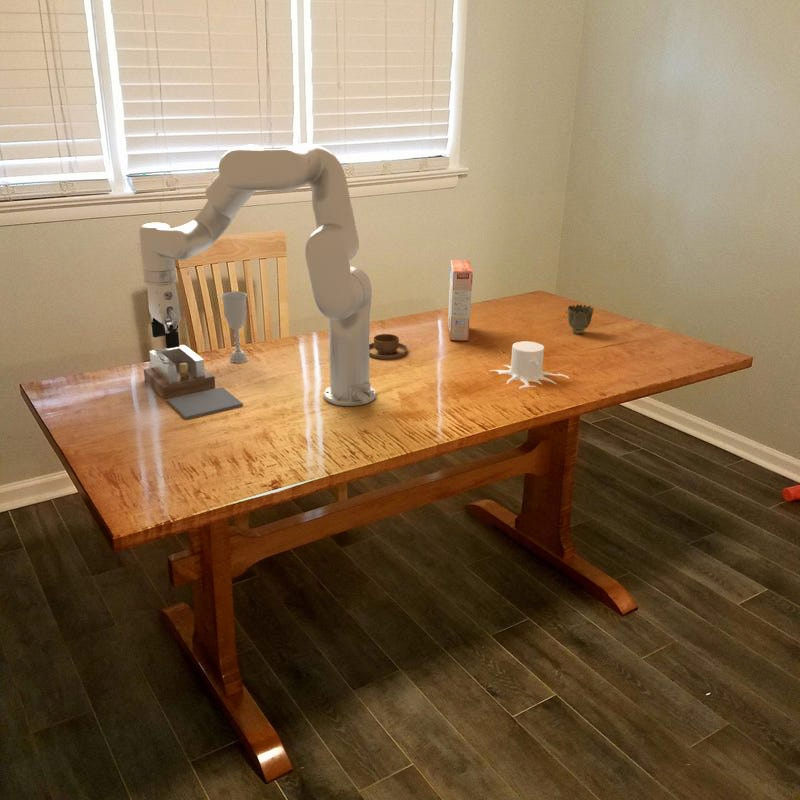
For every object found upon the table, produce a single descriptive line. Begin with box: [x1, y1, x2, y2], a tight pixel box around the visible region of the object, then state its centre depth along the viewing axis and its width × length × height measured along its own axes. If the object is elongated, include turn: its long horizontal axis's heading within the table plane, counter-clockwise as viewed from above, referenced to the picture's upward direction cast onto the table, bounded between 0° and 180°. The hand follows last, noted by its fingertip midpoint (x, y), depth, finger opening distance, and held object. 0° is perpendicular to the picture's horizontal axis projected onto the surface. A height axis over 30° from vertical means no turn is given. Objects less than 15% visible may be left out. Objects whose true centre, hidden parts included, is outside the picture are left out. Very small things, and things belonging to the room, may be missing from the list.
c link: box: [149, 344, 205, 384], centre depth 198 cm, size 13×9×4 cm
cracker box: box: [447, 259, 474, 342], centre depth 234 cm, size 14×6×21 cm, turn 179°
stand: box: [143, 363, 216, 399], centre depth 198 cm, size 14×13×6 cm
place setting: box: [369, 333, 408, 360], centre depth 223 cm, size 18×20×6 cm
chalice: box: [220, 291, 249, 364], centre depth 212 cm, size 7×7×18 cm
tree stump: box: [488, 340, 570, 390], centre depth 207 cm, size 20×19×8 cm
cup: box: [567, 303, 594, 335], centre depth 239 cm, size 8×7×8 cm
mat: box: [166, 386, 244, 420], centre depth 188 cm, size 12×14×1 cm
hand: (165, 341), depth 200 cm, fingers open, 9 cm apart
